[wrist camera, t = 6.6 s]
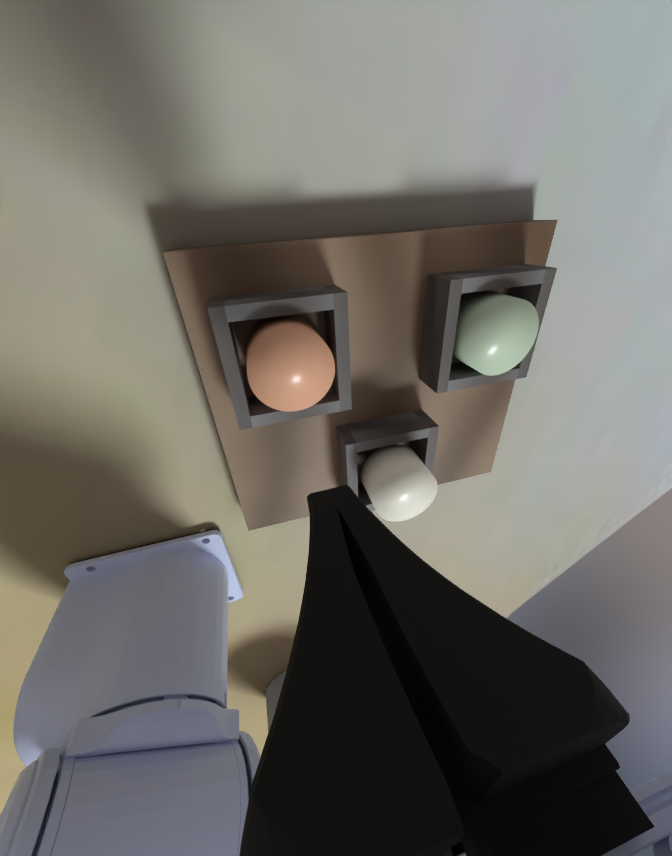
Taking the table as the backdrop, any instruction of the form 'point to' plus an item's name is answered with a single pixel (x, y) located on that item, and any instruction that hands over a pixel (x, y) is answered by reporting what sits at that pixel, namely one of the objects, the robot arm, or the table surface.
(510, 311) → the sage key
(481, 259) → the key panel
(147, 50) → the table surface
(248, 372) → the peach domed piece
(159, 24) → the table surface
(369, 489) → the cream key
